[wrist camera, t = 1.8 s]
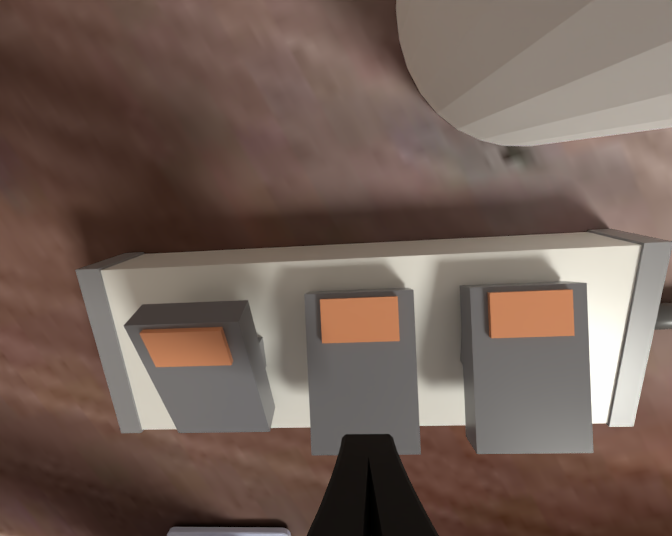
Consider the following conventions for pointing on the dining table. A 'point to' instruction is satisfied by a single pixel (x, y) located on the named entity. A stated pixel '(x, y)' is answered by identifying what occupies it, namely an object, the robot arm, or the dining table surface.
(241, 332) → the rocker
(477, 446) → the block
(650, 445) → the dining table surface
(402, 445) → the rocker
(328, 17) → the dining table surface
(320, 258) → the power strip
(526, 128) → the bottle
